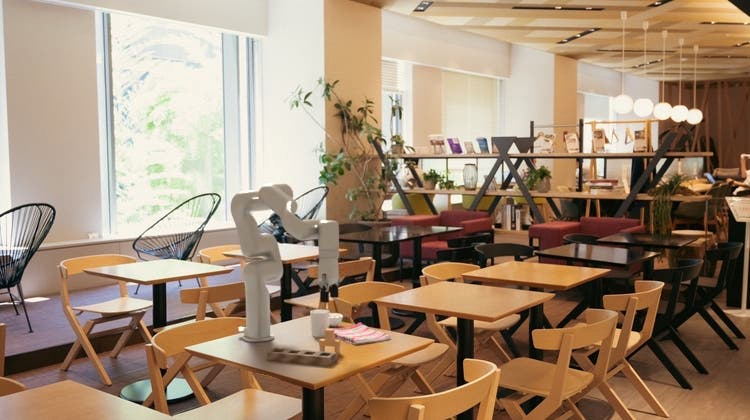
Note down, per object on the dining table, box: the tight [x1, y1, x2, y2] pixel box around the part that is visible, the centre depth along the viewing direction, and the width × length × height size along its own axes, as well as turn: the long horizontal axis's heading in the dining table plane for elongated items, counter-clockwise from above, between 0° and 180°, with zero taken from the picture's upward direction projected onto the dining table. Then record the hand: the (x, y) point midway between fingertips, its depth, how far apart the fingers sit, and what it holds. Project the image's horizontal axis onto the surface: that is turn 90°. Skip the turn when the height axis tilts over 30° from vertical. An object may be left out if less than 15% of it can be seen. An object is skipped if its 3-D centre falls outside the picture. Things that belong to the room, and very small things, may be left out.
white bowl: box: [329, 312, 344, 328], centre depth 313 cm, size 10×12×7 cm
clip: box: [318, 329, 341, 356], centre depth 269 cm, size 8×2×9 cm, turn 72°
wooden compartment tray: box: [266, 347, 338, 367], centre depth 260 cm, size 24×7×3 cm, turn 72°
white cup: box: [309, 308, 330, 338], centre depth 297 cm, size 8×8×10 cm
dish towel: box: [329, 322, 392, 346], centre depth 294 cm, size 17×23×4 cm
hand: (329, 299), depth 268 cm, fingers open, 9 cm apart
